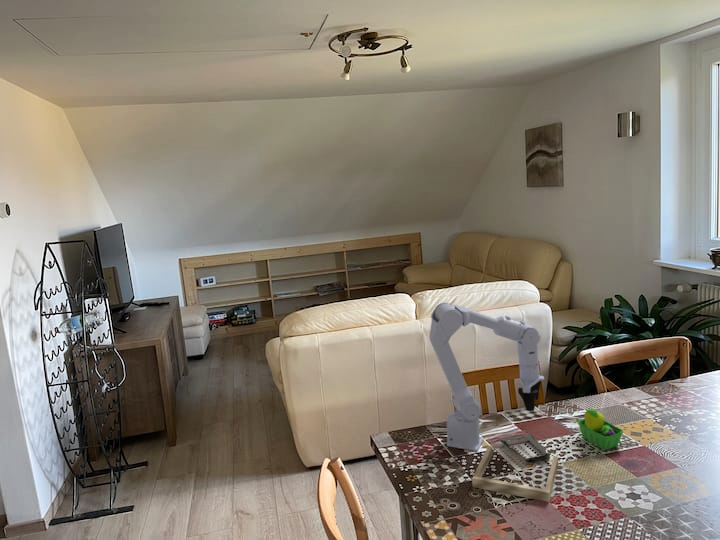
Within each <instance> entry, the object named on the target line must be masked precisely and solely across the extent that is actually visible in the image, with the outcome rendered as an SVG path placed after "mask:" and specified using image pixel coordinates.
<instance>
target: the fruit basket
mask: <svg viewBox="0 0 720 540" xmlns="http://www.w3.org/2000/svg"><path fill="white" fill-rule="evenodd" d="M576 422H577V424H578V426H579V430H580V433H581V436H582V438H583V439H585V440H587V441H589V443H592V444H593V445H595V446H596V447H598V448H600V449H601V450H603V451H606V450H609V449H613V448H617V447H618V446H619V442H620V440H621V437H622V435H623V433H624V430H623V429H621V428H620V427H618V426H617V425H613V424H612V423H610V422H608V421H607V420H606V419H605V416H604V415H603V414H602V413H600V412H599V411H597V410H596V409H595V408H589V409H586V411H585V412H584V418H583V419H582V418H581V419H579V420H577V421H576Z"/></svg>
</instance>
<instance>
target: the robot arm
mask: <svg viewBox="0 0 720 540" xmlns="http://www.w3.org/2000/svg"><path fill="white" fill-rule="evenodd" d="M430 316H431V318H430V319H431V324H430V328H429V329H430V330H429V342H430V343H431V346H432V348H433V351H434V353H435V355H436V357H437V360H438V362H439V365H440V366H441V369H442V372H443V374H444V375H445V379H446V381H447V382H448V385H449V387H450V393H451V396H452V397H451V398H452V399H451V402H452V405H453V407H454V408H455V411H454V412H453V413H449V414H448V416H447V419H446V420H447V421H446V438H447V439H446V440H447V443H446V447H451V448H457V449H464V450H470V451H475V452H477V451H479V449H480V447H481V445H482V443H483V441H484V437H482V436H480V417H481V416H480V415H481V414H482V406H481V404H480V403H479V402H478V401H477V400H476V399H475V398H474V396H473V395H472V392H471V391H470V388H469V387H468V384H467V382H466V380H465V378H464V375H463V373H462V371H461V368H460V366H459V363H458V361H457V360H456V357H455V355H454V352H453V350H452V348H451V346H450V342H449V341H450V339H451V337H452V336H453V335H455V333H456V332H457V331H458V330H459V329H460V328H461V327H466V326H468V325H469V324H474V325H476V326H477V325H478V326H480V327H485V328H488V329H492V331H493V333H494V335H496V336H499V337H503V338H505V339H509V340H511V341H514V342H517V352H518V353H517V354H518V367H519V381H520V383H521V386H522V387H518V390H517V393H518V394H519V396H520V397H521V398H522V402H523V404H524V407H525V410H526V411H527V412H534V411H535V407H536V406H535V405H536V401H538V400H539V397H540V387H541V383H542V382H543V381H544V380H545V376H544V375H541V374H540V366H539V365H540V362H539V361H540V360H539V348H538V344H539V343H540V340H541V335H539V331H538V330H537V328H535V327H533V326H531V325H530V324H528V323H526V322H525V321H522V320H520V321H516V320H513V319H512V318H511V317H510V316H509V315H505V316H503V315H502V316H501V315H500V316H499V317H496V318H494V317H491V316H490V315H486V314H484V313H481V312H479V311H475V310H473V309H470V308H468V307H465V306H461V305H457V304H453V305H452V304H450V303H449V302H440V303H439V304H437V305H436V306H435V308H434V309H433V311H432V313H431V314H430Z"/></svg>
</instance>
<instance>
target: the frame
mask: <svg viewBox="0 0 720 540" xmlns="http://www.w3.org/2000/svg"><path fill="white" fill-rule="evenodd" d="M493 452H494V451H493V446H492V445H488V446H487V448H486V449H485V451H484V454H483V455H482V458H481V460H480V462H479V464H478V465H477V468H476V470H475V472H474V474H473V476H472V480H471V482H472V485H471V486H472V488H477V489H482V490H487V491H492V492H497V493H501V494H506V495H513V496H518V497H522V498H527V499H532V500H537V501H542V502H548V503H549V502H550V500H551V497H552V493H553V488H554V486H555V485H554V484H555V480H556V476H557V471H558V467H559V456H553V457H552V462H551V465H550V469H549V471H548V476H547V480H546V484H545V487H544V488H542V487H541V488H539V487H534V486H529V485H524V484H519V483H512V482H509V481H502V480H497V479H491V478H486V477H483V476H484V473H486V472H485V471H486V469H487V467H488V465H489V463H490V460H491V459H492V456H493Z"/></svg>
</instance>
